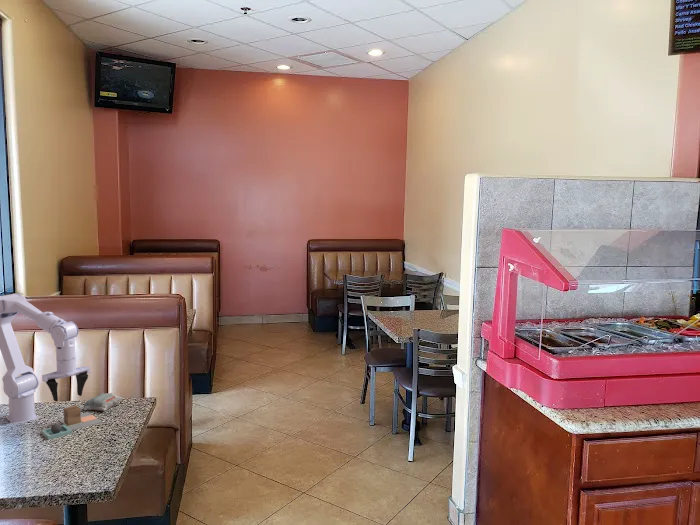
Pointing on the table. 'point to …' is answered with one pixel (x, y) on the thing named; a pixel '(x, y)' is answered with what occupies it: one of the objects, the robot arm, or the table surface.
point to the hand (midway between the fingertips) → (67, 397)
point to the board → (83, 421)
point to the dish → (63, 432)
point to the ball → (56, 428)
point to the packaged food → (102, 402)
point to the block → (72, 415)
